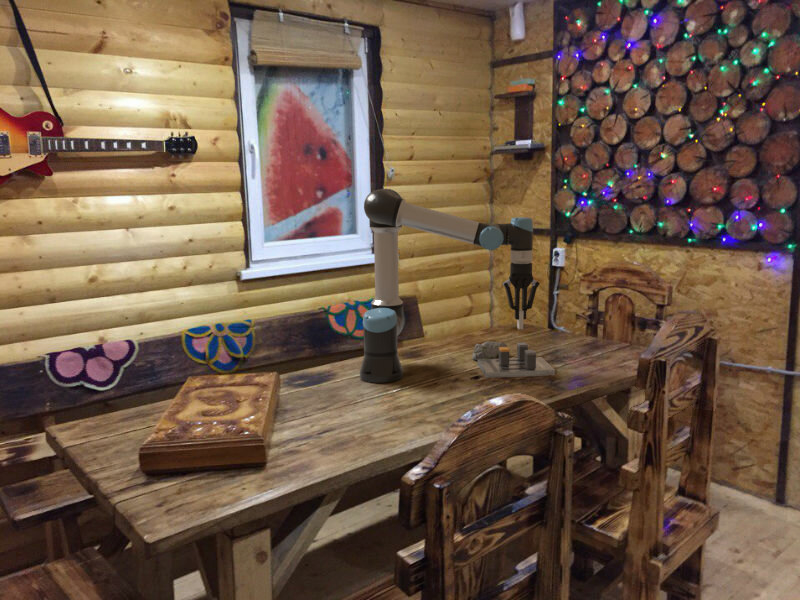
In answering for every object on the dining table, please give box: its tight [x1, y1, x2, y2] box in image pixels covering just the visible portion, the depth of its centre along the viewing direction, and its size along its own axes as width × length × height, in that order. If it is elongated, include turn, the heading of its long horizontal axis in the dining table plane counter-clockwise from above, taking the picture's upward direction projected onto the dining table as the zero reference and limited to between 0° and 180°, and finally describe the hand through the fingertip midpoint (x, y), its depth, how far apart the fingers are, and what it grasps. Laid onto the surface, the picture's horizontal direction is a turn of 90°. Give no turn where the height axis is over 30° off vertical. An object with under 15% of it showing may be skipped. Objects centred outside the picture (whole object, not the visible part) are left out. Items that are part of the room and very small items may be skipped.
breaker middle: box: [498, 346, 510, 366], centre depth 232 cm, size 3×4×6 cm
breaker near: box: [525, 349, 537, 369], centre depth 227 cm, size 3×4×6 cm
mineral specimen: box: [471, 340, 508, 361], centre depth 250 cm, size 16×7×7 cm, turn 120°
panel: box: [477, 356, 556, 379], centre depth 233 cm, size 24×17×2 cm
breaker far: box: [516, 342, 529, 361], centre depth 238 cm, size 3×4×6 cm
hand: (520, 328), depth 231 cm, fingers closed
